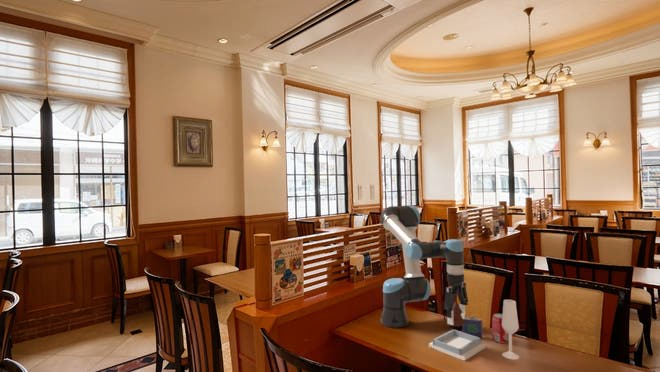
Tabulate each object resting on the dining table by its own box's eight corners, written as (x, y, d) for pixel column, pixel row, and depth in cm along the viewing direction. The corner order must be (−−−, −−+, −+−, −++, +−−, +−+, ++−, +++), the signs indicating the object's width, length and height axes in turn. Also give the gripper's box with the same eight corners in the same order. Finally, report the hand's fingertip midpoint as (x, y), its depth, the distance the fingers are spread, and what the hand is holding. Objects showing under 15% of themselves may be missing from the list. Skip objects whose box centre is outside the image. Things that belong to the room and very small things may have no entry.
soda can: (508, 338, 174) (507, 314, 174) (508, 344, 168) (508, 319, 168) (492, 336, 177) (491, 312, 177) (492, 342, 171) (491, 317, 170)
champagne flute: (516, 352, 159) (515, 299, 159) (521, 360, 153) (520, 304, 153) (500, 351, 161) (499, 298, 161) (504, 358, 154) (503, 303, 154)
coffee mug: (463, 325, 192) (462, 306, 192) (467, 331, 183) (467, 312, 183) (440, 324, 193) (440, 306, 193) (444, 331, 184) (443, 311, 184)
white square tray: (428, 346, 167) (428, 338, 167) (450, 335, 179) (450, 327, 179) (464, 360, 153) (464, 351, 153) (485, 348, 165) (485, 339, 165)
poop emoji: (448, 317, 172) (447, 298, 172) (467, 320, 168) (466, 300, 168) (445, 325, 163) (444, 304, 163) (465, 328, 159) (464, 307, 159)
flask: (482, 336, 177) (481, 315, 177) (483, 339, 174) (482, 317, 174) (462, 334, 180) (461, 313, 179) (462, 337, 177) (462, 315, 177)
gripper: (449, 278, 156) (450, 330, 156) (475, 270, 170) (476, 317, 170) (434, 276, 162) (435, 325, 161) (460, 268, 176) (462, 313, 176)
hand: (456, 321), depth 166 cm, fingers closed on poop emoji, 10 cm apart
